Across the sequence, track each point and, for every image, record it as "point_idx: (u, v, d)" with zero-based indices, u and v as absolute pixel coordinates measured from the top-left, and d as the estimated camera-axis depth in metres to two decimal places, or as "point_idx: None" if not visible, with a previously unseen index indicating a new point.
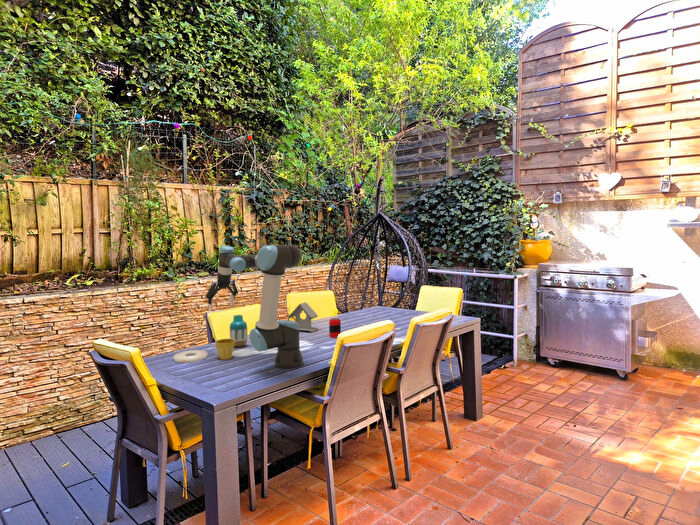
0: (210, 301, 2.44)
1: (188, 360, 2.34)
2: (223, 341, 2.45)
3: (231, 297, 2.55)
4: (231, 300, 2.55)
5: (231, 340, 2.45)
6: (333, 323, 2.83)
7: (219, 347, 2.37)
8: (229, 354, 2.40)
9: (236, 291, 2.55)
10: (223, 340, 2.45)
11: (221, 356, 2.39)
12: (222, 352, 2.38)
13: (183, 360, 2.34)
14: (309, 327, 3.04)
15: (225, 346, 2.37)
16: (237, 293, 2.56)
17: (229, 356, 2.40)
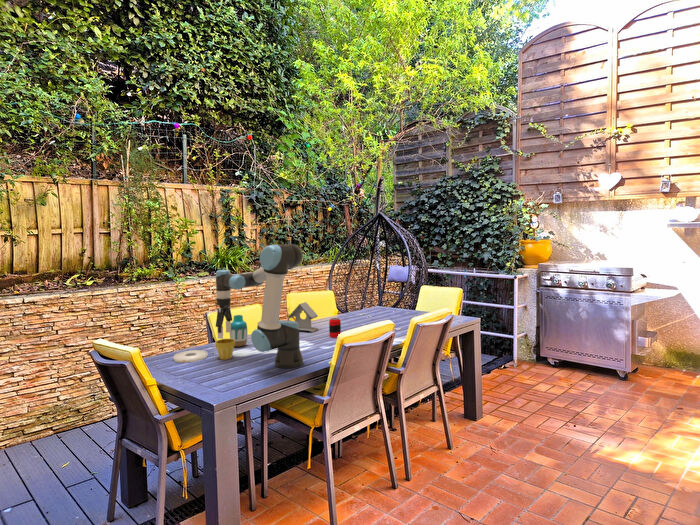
0: (221, 329, 2.33)
1: (188, 360, 2.34)
2: (223, 341, 2.45)
3: (228, 323, 2.47)
4: (228, 326, 2.48)
5: (231, 340, 2.45)
6: (333, 323, 2.83)
7: (219, 347, 2.37)
8: (229, 354, 2.40)
9: (231, 316, 2.49)
10: (223, 340, 2.45)
11: (221, 356, 2.39)
12: (222, 352, 2.38)
13: (183, 360, 2.34)
14: (309, 327, 3.04)
15: (225, 346, 2.37)
16: (231, 318, 2.50)
17: (229, 356, 2.40)
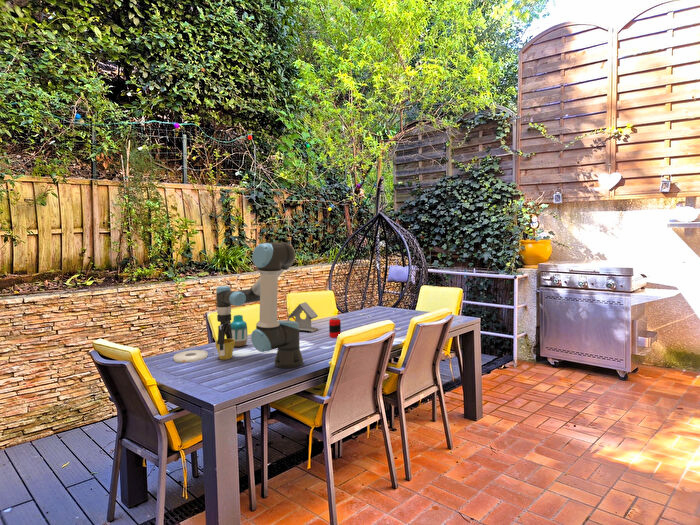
0: (222, 346, 2.35)
1: (188, 360, 2.34)
2: None
3: None
4: None
5: (231, 340, 2.45)
6: (333, 323, 2.83)
7: None
8: (229, 354, 2.40)
9: (231, 333, 2.49)
10: None
11: (221, 356, 2.39)
12: None
13: (183, 360, 2.34)
14: (309, 327, 3.04)
15: (225, 346, 2.37)
16: None
17: (229, 356, 2.40)
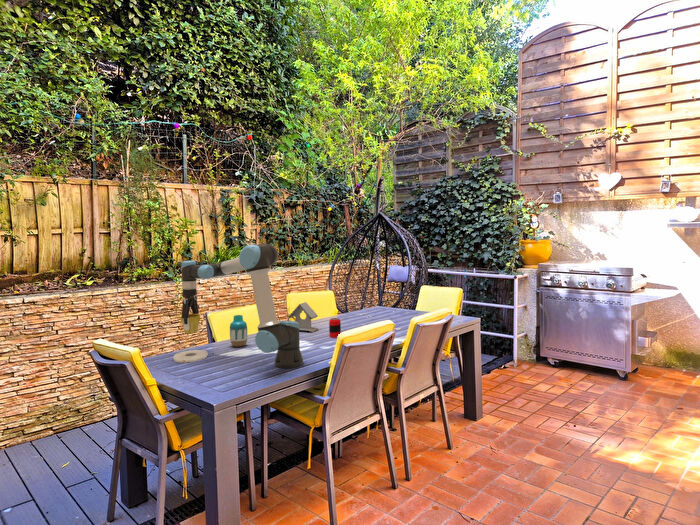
0: (187, 320, 2.35)
1: (188, 360, 2.34)
2: (189, 316, 2.45)
3: None
4: None
5: (197, 315, 2.45)
6: (333, 323, 2.83)
7: None
8: (194, 329, 2.40)
9: (197, 309, 2.49)
10: (189, 315, 2.45)
11: (186, 330, 2.39)
12: None
13: (183, 360, 2.34)
14: (309, 327, 3.04)
15: (190, 320, 2.37)
16: (198, 311, 2.49)
17: (194, 330, 2.40)
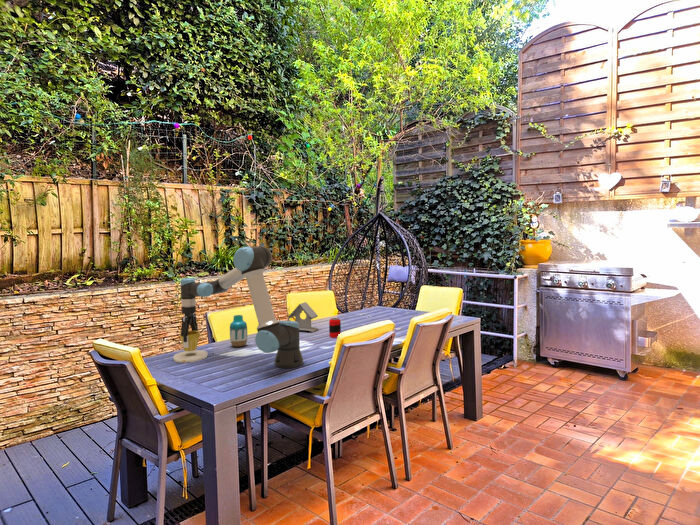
0: (186, 338, 2.36)
1: (188, 360, 2.34)
2: (188, 333, 2.46)
3: None
4: None
5: (196, 332, 2.46)
6: (333, 323, 2.83)
7: None
8: (193, 346, 2.40)
9: (197, 326, 2.49)
10: (188, 332, 2.46)
11: (185, 348, 2.39)
12: None
13: (183, 360, 2.34)
14: (309, 327, 3.04)
15: (189, 338, 2.37)
16: (197, 328, 2.50)
17: (193, 348, 2.40)
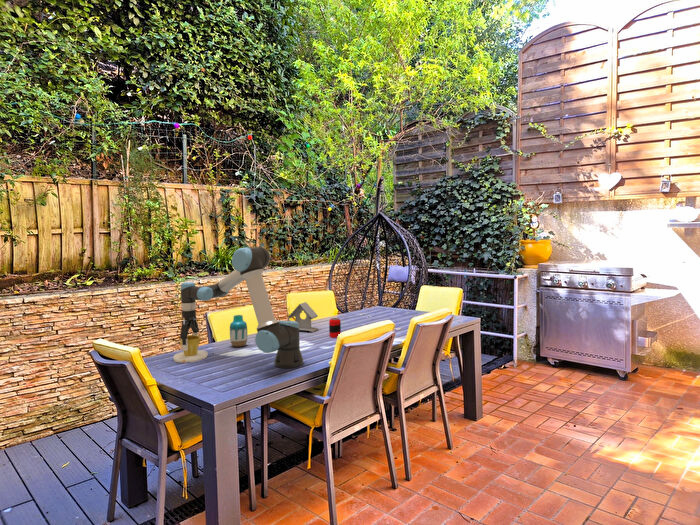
0: (185, 341, 2.34)
1: (188, 360, 2.34)
2: (188, 338, 2.46)
3: None
4: None
5: (196, 337, 2.46)
6: (333, 323, 2.83)
7: None
8: (194, 351, 2.40)
9: (197, 327, 2.51)
10: (188, 337, 2.46)
11: (185, 353, 2.39)
12: None
13: (183, 360, 2.34)
14: (309, 327, 3.04)
15: (189, 343, 2.37)
16: (198, 329, 2.51)
17: (194, 353, 2.41)
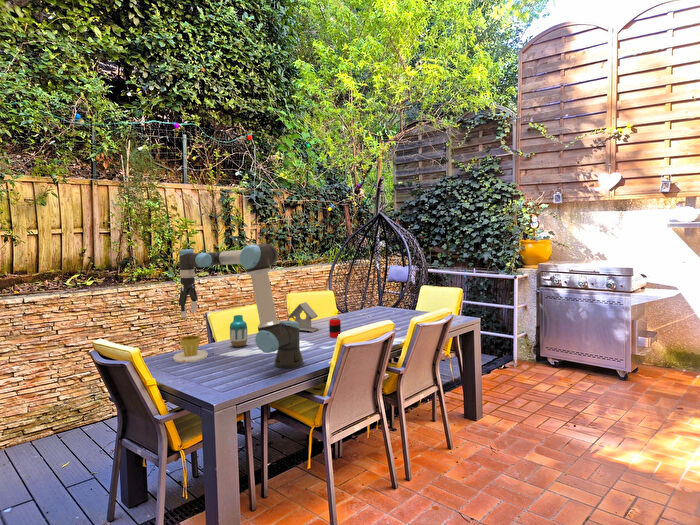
0: (184, 308, 2.33)
1: (188, 360, 2.34)
2: (188, 338, 2.46)
3: (193, 303, 2.47)
4: (194, 306, 2.47)
5: (196, 337, 2.46)
6: (333, 323, 2.83)
7: (183, 344, 2.37)
8: (194, 351, 2.40)
9: (196, 296, 2.49)
10: (188, 337, 2.46)
11: (185, 353, 2.39)
12: (186, 349, 2.38)
13: (183, 360, 2.34)
14: (309, 327, 3.04)
15: (189, 343, 2.37)
16: (197, 298, 2.50)
17: (194, 353, 2.41)
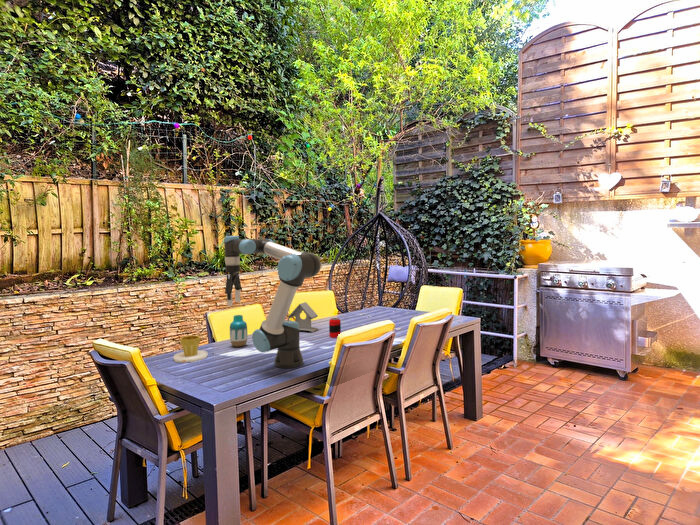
0: (230, 296, 2.24)
1: (188, 360, 2.34)
2: (188, 338, 2.46)
3: (237, 292, 2.39)
4: (238, 295, 2.39)
5: (196, 337, 2.46)
6: (333, 323, 2.83)
7: (183, 344, 2.37)
8: (194, 351, 2.40)
9: (240, 285, 2.41)
10: (188, 337, 2.46)
11: (185, 353, 2.39)
12: (186, 349, 2.38)
13: (183, 360, 2.34)
14: (309, 327, 3.04)
15: (189, 343, 2.37)
16: None
17: (194, 353, 2.41)
